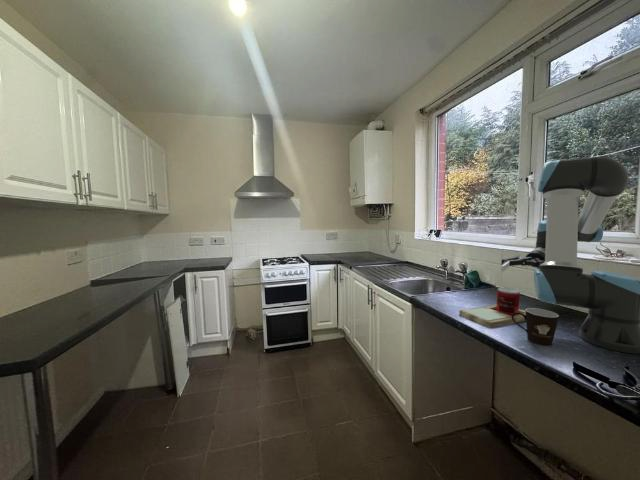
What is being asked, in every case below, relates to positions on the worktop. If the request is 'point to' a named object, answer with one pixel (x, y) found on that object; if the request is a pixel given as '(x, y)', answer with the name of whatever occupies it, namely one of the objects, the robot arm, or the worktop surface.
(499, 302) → the canned food
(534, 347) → the worktop surface
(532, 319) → the coffee mug
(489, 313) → the board
